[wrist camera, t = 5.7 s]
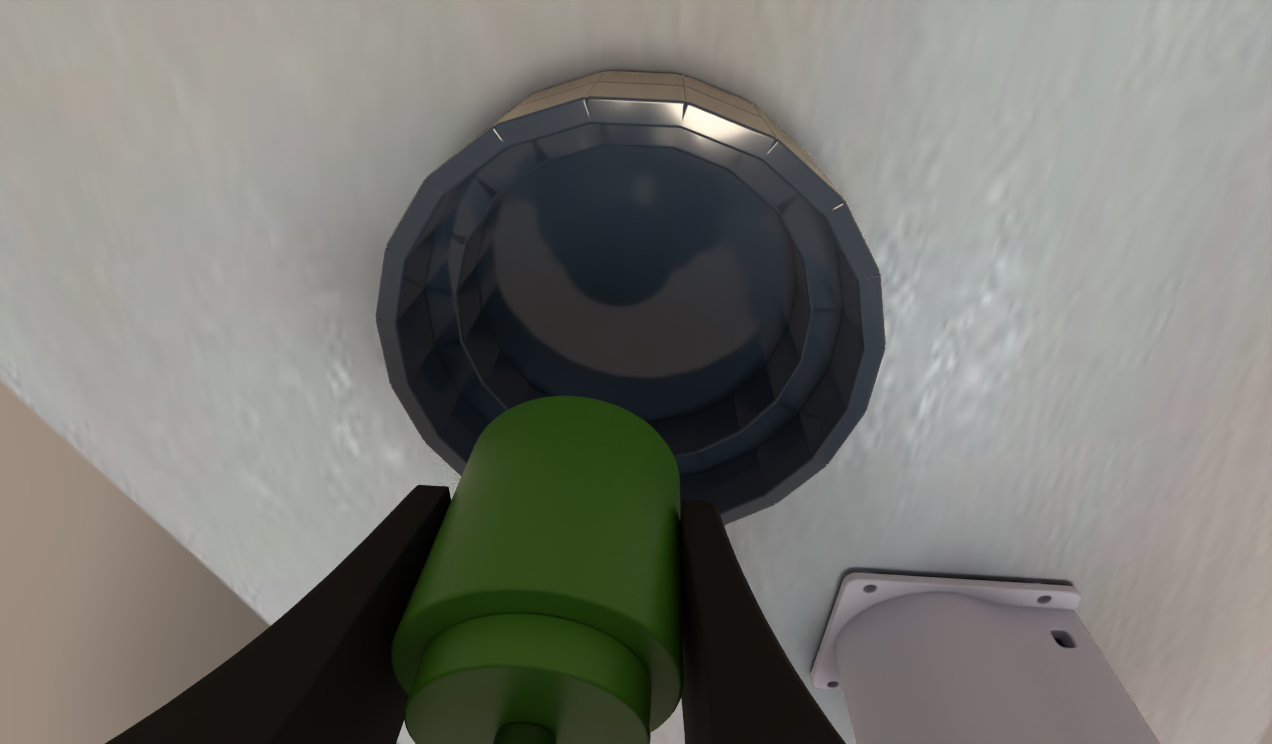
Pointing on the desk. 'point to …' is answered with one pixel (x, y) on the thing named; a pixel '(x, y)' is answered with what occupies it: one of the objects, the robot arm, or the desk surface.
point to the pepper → (550, 586)
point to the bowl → (639, 284)
